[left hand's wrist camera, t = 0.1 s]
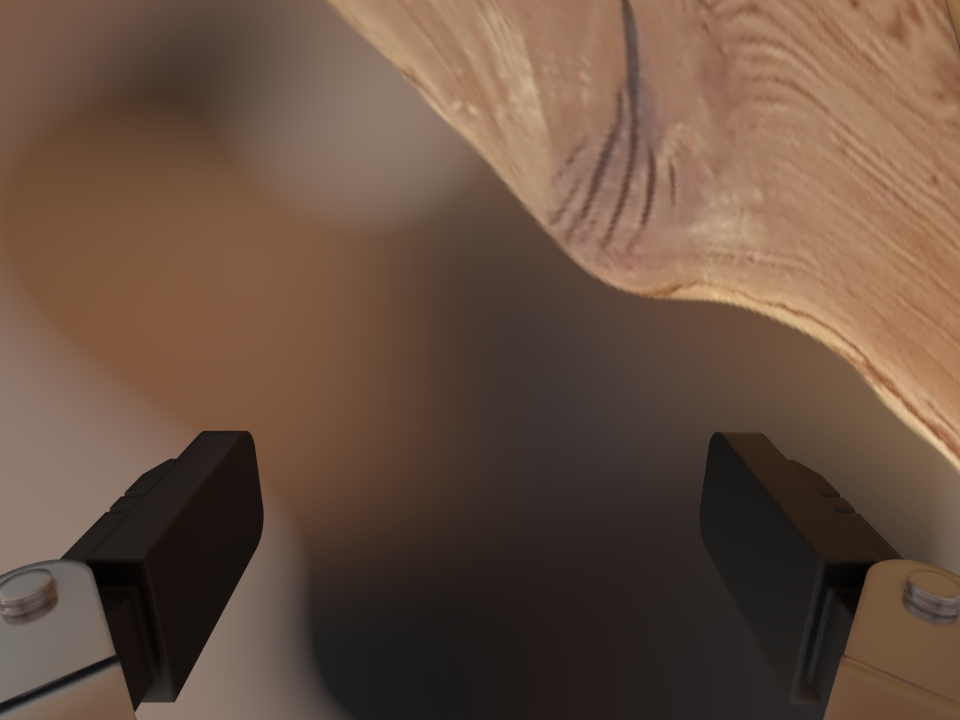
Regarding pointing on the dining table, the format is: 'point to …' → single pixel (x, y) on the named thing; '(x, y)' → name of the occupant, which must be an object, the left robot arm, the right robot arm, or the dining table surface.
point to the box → (955, 16)
